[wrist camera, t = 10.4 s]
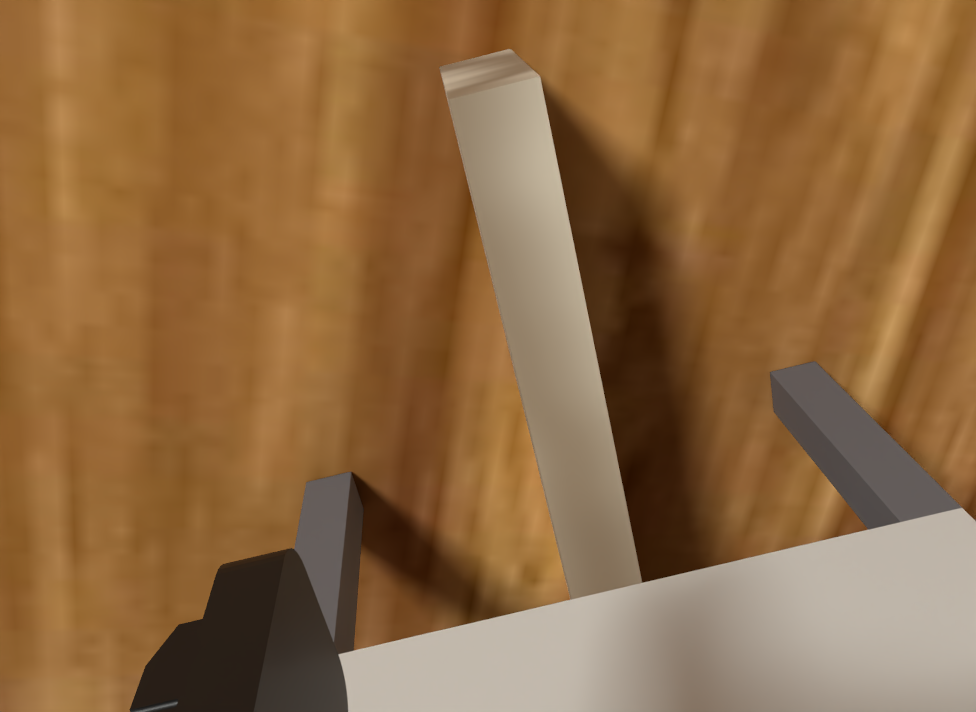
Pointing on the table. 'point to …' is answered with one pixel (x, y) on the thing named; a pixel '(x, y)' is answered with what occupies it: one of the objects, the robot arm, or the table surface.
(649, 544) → the table surface
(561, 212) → the pale wooden bar
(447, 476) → the table surface
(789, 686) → the low cabinet
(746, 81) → the table surface
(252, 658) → the robot arm
